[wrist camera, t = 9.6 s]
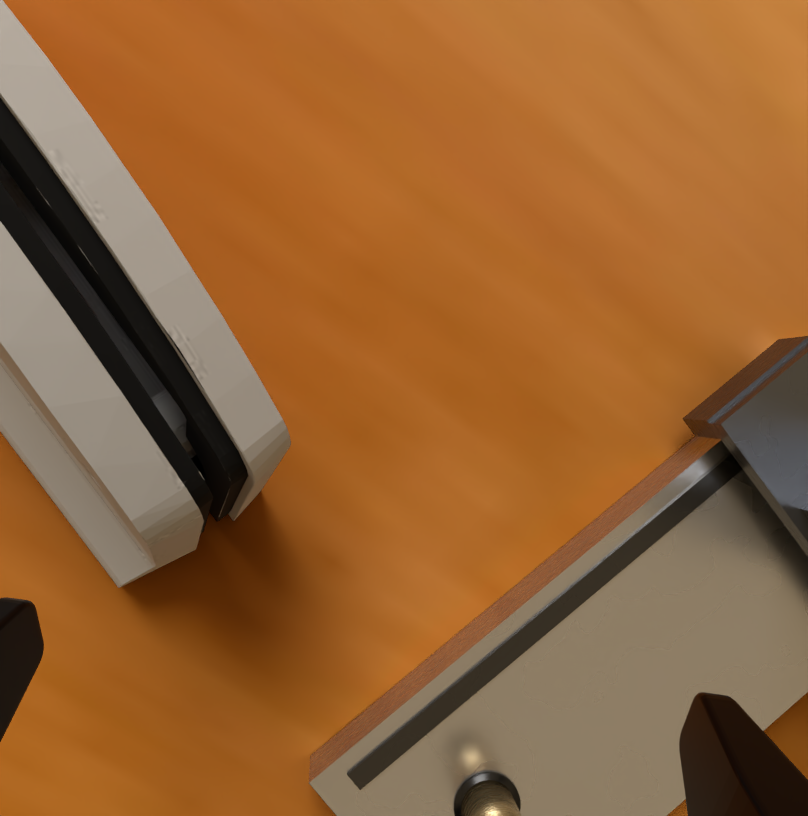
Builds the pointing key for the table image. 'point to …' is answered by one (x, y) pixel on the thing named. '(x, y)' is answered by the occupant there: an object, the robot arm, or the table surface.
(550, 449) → the table surface
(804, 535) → the leg
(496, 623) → the bolt plate
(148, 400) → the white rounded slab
